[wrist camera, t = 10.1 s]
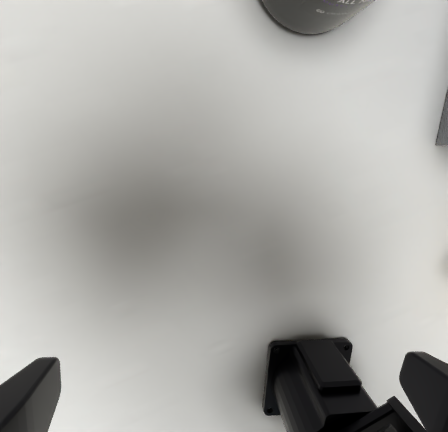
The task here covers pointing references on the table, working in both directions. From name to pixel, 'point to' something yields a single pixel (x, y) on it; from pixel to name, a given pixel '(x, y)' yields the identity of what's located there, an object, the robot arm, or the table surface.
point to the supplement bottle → (314, 13)
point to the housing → (443, 126)
